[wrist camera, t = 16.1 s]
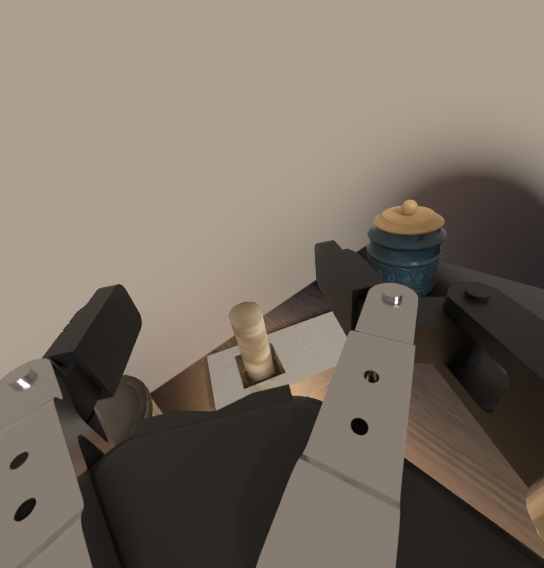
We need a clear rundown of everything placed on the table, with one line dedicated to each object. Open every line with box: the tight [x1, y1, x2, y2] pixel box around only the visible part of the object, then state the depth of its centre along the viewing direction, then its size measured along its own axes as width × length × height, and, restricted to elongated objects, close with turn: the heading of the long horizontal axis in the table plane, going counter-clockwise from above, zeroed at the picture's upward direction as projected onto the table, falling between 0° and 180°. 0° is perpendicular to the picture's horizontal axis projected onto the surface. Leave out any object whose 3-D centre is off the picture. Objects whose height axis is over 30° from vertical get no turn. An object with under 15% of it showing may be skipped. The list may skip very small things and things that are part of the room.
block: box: [207, 312, 347, 410], centre depth 39 cm, size 26×10×4 cm, turn 110°
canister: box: [367, 200, 447, 297], centre depth 48 cm, size 13×13×18 cm
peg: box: [229, 302, 276, 386], centre depth 35 cm, size 4×4×14 cm
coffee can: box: [95, 375, 164, 446], centre depth 25 cm, size 10×10×14 cm
